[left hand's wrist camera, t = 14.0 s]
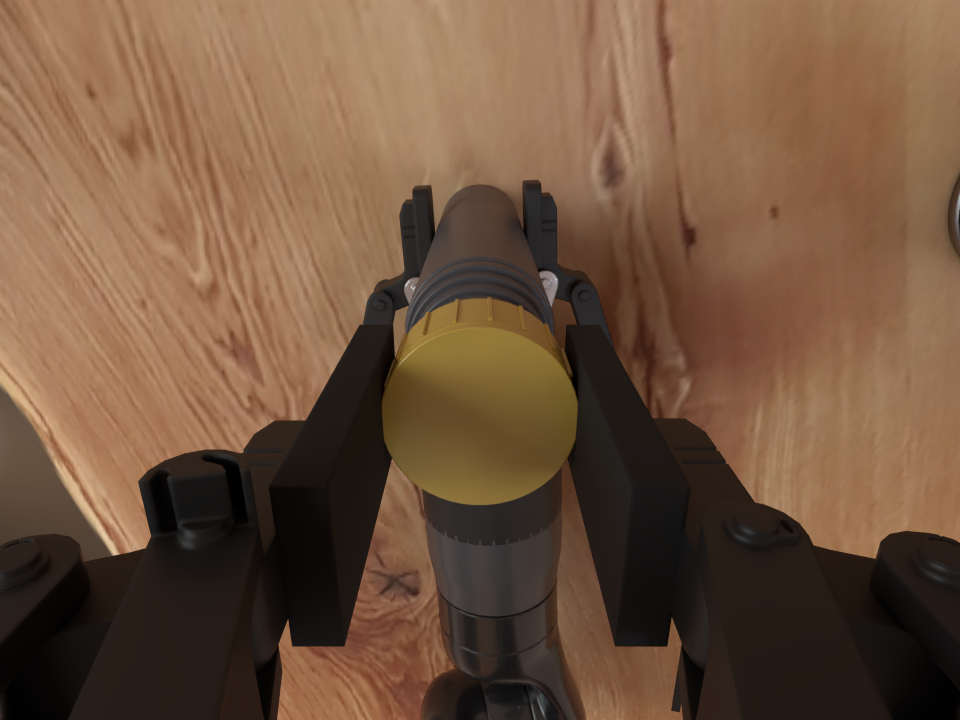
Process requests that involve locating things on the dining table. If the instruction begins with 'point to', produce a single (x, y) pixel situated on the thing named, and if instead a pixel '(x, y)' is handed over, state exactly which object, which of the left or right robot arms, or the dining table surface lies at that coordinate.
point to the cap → (479, 403)
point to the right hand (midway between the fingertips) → (476, 186)
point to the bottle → (479, 258)
